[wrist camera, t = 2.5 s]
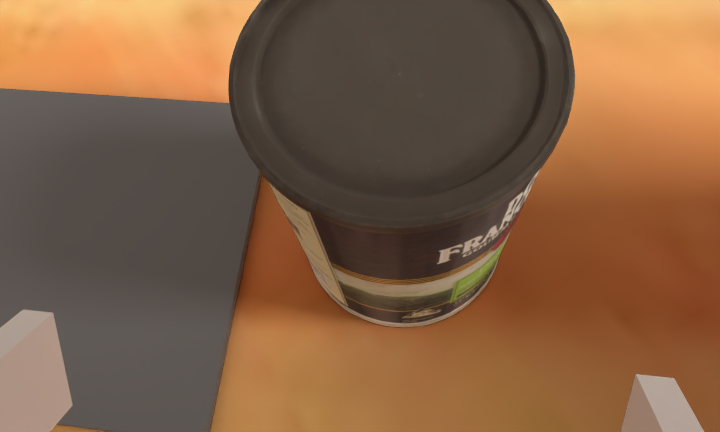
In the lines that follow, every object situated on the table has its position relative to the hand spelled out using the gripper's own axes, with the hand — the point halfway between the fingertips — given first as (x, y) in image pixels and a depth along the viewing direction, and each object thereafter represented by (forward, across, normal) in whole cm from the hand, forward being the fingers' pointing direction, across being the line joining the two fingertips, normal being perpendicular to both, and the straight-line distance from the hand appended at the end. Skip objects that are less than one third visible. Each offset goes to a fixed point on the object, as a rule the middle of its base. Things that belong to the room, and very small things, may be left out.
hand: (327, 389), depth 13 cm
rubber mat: (+16, -17, -5) cm, 24 cm away
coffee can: (+17, +1, -4) cm, 18 cm away
